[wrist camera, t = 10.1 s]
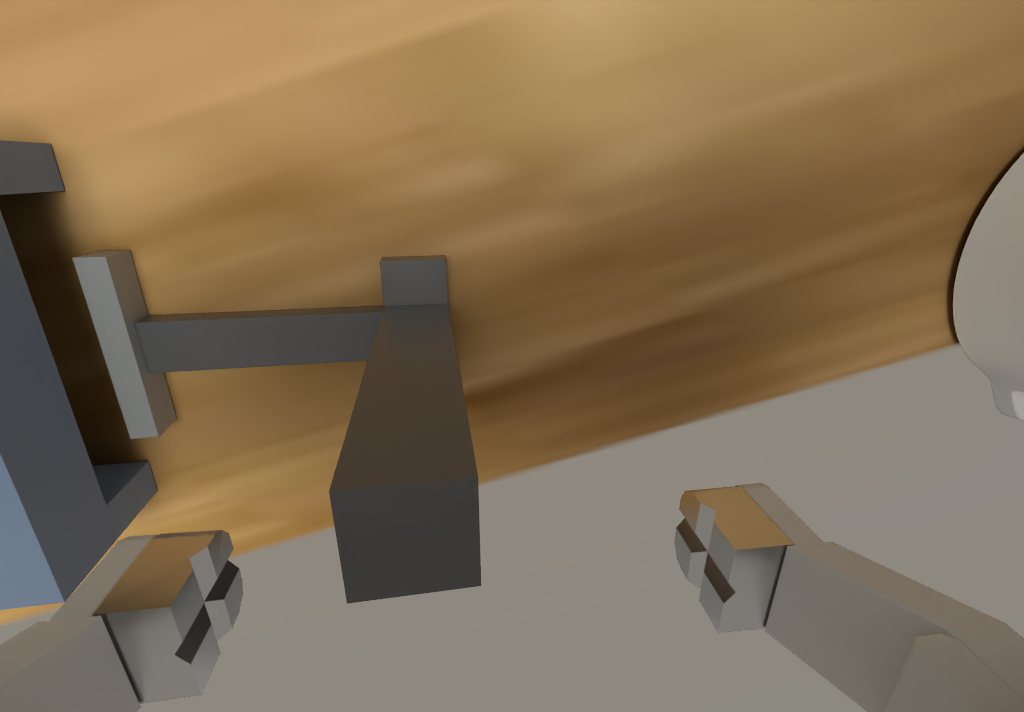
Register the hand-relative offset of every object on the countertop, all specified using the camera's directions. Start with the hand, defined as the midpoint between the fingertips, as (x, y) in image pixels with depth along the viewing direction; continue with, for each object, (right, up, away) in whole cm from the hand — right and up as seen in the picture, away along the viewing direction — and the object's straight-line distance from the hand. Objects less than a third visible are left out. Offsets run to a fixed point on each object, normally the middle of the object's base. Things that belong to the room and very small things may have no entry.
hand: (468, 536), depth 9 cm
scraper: (-8, +4, +11) cm, 14 cm away
